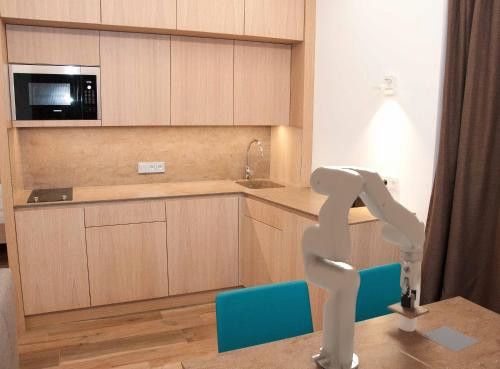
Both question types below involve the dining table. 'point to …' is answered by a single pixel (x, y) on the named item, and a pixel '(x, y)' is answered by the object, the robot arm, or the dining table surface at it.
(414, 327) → the pale pink cup
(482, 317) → the dining table surface
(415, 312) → the lid
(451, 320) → the dining table surface
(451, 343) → the mat
